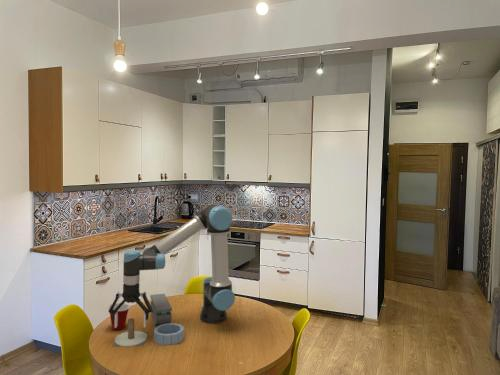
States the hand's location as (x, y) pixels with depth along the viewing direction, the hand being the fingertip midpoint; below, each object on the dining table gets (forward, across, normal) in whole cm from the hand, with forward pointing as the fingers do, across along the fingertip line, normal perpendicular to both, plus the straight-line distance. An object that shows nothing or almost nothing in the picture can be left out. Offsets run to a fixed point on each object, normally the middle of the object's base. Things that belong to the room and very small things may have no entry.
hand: (130, 326), depth 178 cm
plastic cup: (+7, +9, -14) cm, 18 cm away
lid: (+6, 0, 0) cm, 6 cm away
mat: (+7, 0, 0) cm, 7 cm away
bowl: (+7, -18, 0) cm, 20 cm away
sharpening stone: (+7, -11, -23) cm, 27 cm away
